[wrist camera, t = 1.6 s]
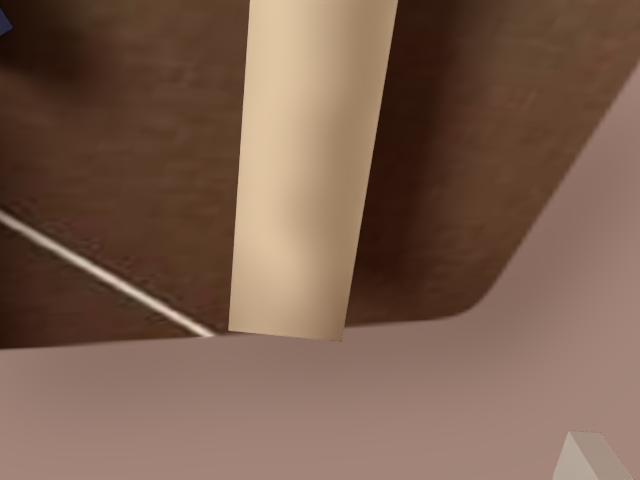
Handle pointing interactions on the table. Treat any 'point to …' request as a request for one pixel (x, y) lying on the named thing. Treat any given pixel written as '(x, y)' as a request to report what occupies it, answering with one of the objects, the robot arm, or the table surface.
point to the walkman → (4, 23)
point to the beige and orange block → (305, 160)
